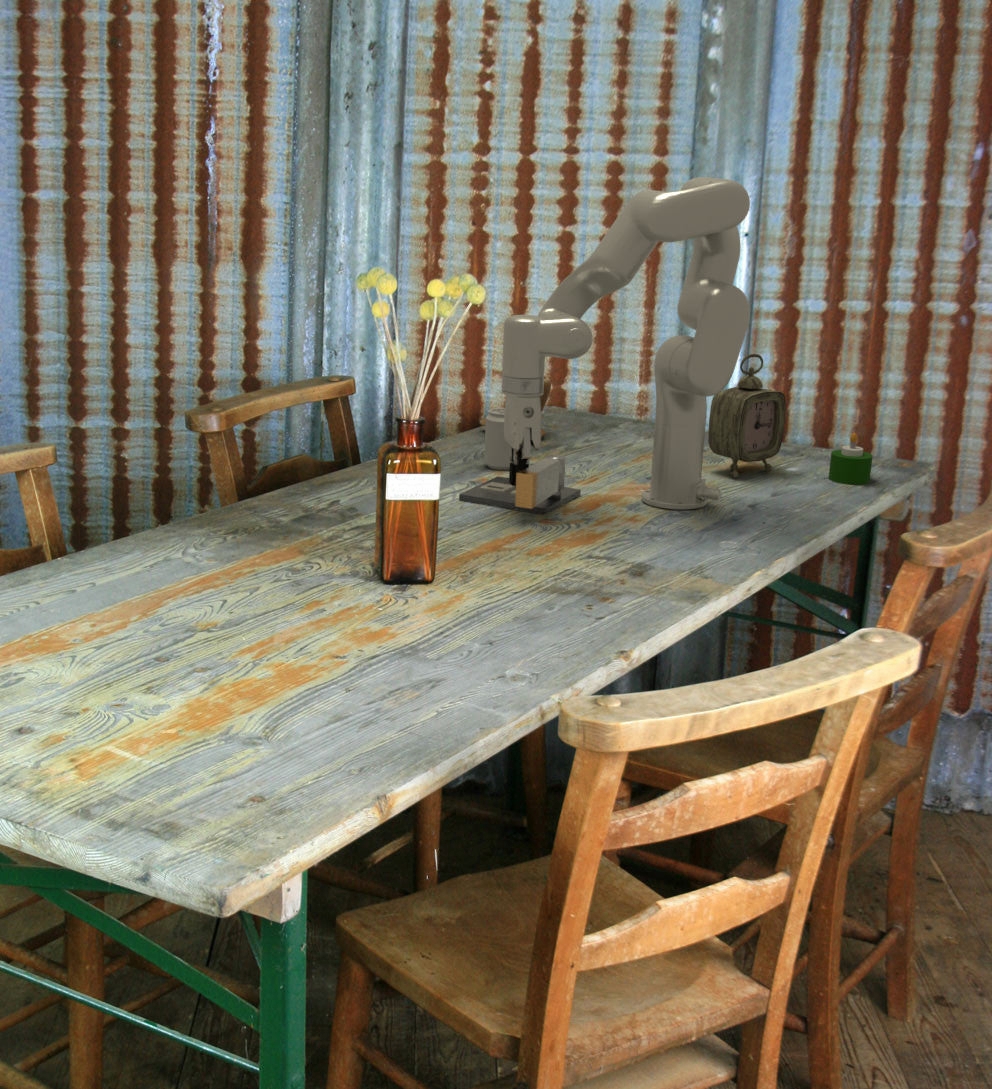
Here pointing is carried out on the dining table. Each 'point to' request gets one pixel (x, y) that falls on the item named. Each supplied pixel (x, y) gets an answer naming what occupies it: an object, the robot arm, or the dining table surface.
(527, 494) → the grey block tan end
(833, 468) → the candle
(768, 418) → the tabletop clock
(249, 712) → the dining table surface
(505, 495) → the dark grey flat slab
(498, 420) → the can
